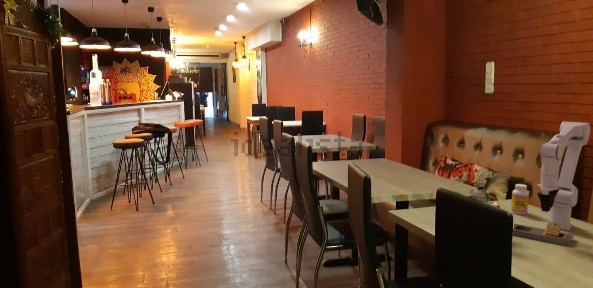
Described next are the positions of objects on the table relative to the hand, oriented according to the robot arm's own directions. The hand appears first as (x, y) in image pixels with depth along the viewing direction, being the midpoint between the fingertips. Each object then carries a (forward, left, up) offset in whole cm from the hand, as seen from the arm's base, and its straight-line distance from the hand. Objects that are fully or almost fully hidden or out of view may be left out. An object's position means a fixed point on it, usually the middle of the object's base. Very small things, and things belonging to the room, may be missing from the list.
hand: (547, 209), depth 174 cm
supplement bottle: (-26, -16, -11) cm, 32 cm away
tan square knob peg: (+4, +3, -10) cm, 12 cm away
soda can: (+13, -18, -11) cm, 24 cm away
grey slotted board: (+4, -2, -10) cm, 11 cm away
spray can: (+19, -20, -11) cm, 29 cm away
